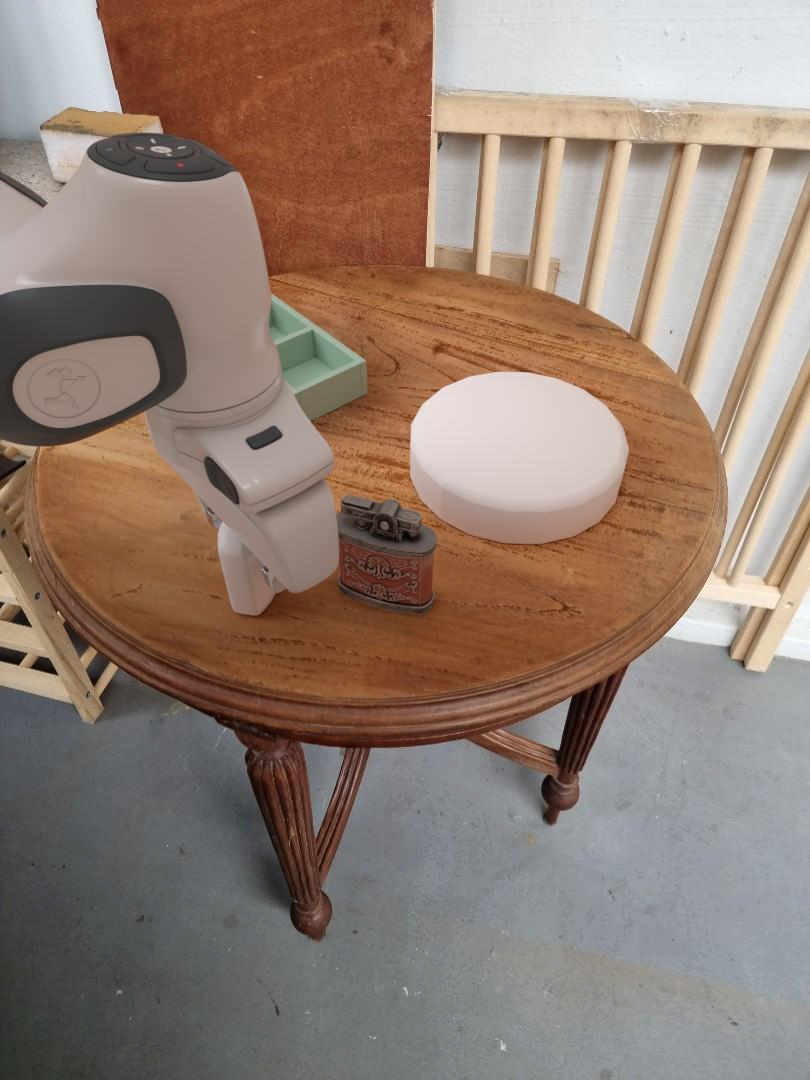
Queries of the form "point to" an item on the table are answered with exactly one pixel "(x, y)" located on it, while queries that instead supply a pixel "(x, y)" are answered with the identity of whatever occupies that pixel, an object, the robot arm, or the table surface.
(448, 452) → the container
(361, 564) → the lighter
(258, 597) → the eye dropper bottle
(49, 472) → the table surface
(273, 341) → the robot arm
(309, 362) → the grid
